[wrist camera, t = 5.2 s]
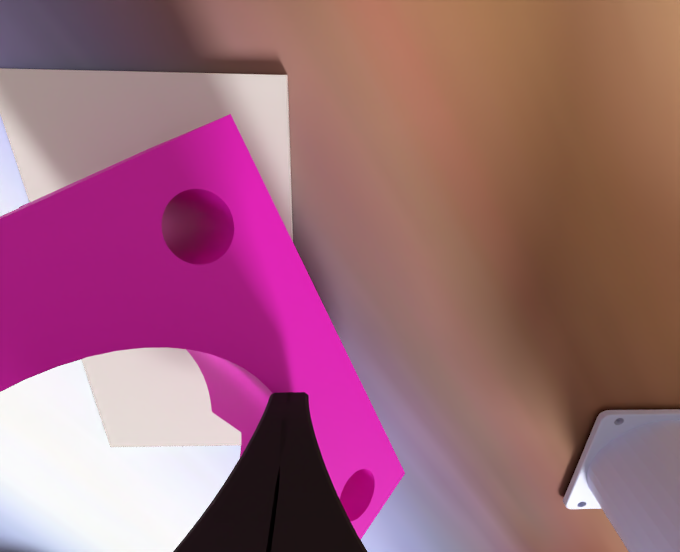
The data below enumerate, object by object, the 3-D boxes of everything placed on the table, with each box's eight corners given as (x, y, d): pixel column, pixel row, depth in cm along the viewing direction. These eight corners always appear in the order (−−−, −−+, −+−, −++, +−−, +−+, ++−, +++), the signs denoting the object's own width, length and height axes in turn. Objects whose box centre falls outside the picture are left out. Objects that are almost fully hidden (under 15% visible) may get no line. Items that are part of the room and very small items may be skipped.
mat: (287, 74, 15) (286, 75, 14) (299, 436, 23) (299, 444, 22) (-5, 68, 14) (-15, 68, 14) (114, 439, 22) (110, 447, 22)
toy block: (147, 149, 15) (-98, 260, 11) (230, 113, 11) (-134, 279, 7) (310, 422, 22) (192, 554, 18) (405, 473, 17) (275, 666, 13)
